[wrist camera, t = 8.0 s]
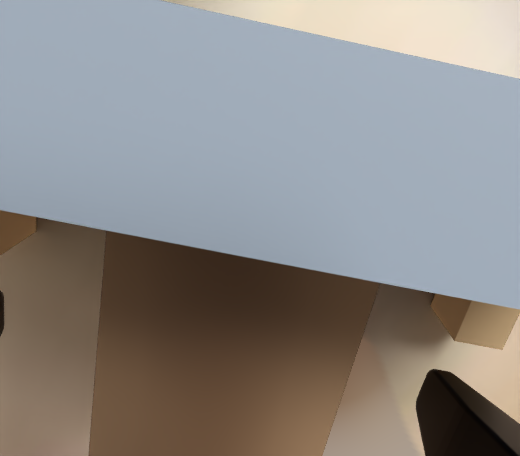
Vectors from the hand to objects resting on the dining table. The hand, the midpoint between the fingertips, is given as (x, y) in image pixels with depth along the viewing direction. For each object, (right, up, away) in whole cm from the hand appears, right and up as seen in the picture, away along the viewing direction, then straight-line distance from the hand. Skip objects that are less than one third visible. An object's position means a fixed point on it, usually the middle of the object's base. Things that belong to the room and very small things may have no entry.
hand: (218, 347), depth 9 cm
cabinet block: (0, +2, +5) cm, 6 cm away
